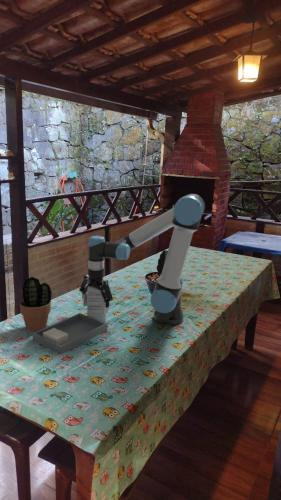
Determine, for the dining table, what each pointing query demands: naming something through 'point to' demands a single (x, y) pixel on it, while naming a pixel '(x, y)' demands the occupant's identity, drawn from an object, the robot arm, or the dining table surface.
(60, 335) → the beige block
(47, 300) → the potted plant
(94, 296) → the supplement box
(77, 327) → the grey shallow rectangular tray
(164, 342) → the dining table surface
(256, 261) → the dining table surface
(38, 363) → the dining table surface
